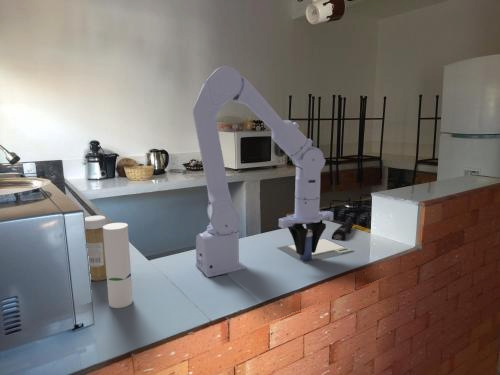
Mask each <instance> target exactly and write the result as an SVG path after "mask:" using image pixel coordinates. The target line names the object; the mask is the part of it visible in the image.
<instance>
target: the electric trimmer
mask: <svg viewBox="0 0 500 375" xmlns="http://www.w3.org/2000/svg"><path fill="white" fill-rule="evenodd" d="M353 226H354V223H353V220H352V219H351V218H348V219H346V221H344V223H343V224H341V225H340V226H339V227H337V229H335V230H334V231H333V233H332V235H331V241H332V240H333V241H339V242H340V241H341V242H344V241H345V240H346V236H347V234H350V233H352V230H353V228H354V227H353Z"/></svg>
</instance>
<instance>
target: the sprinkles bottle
mask: <svg viewBox="0 0 500 375" xmlns="http://www.w3.org/2000/svg"><path fill="white" fill-rule="evenodd" d="M84 218H85V227H86V240H87V248H88V256H89V266H90V274H91V280H90V281H93V282H98V281H104V280H107V274H106V262H105V249H104V237H103V226H104V225H107V218H106V216H104V215H90V216H87V217H84Z"/></svg>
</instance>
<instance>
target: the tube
mask: <svg viewBox="0 0 500 375" xmlns="http://www.w3.org/2000/svg"><path fill="white" fill-rule="evenodd" d="M128 226H129V224H128V223H126V222H112V223H106V225H104V226H103V237H104V249H105V262H106V274H107V278H106V284H107V285H106V286H107V297H108V305H109V307H111V308H112V309H121V308H122V309H123V308H125V307H128V306H130V305H131V304H132V303H133V301H134V299H133V297H134V296H133V284H132V283H133V282H132V281H133V280H132V271H131V269H132V268H131V254H130V253H131V252H130V239H129V227H128Z"/></svg>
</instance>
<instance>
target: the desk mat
mask: <svg viewBox="0 0 500 375" xmlns="http://www.w3.org/2000/svg"><path fill="white" fill-rule="evenodd" d="M320 239H321V238H320ZM320 239H319V240H320ZM322 239H326V240H328V241H331V242H333V243H335V244H338V245H340V246H342V247H344V248H345V247H346V246H344V245H341V244H339V243H337V242H335V241H332V240H330V239H328V238H322ZM290 245H291V244H289V245H284V246H279V247H276V249H278V250H279V251H281V252H284V253H285V254H287V255H288V256H290V257H292V258H294V259H295V260H297V261H298V262H300V263H302V264H307V263H312V262H315V261H317V262H318V261H321V260H326V259H329V258H334V257H338V256H343V255H346V254H351V253H352V254H353V253H355V252H356V251H355V250H353V249H351V250H352V251H351V252H347V253H342V254H339V253H337V252H335V251H331V252H326V253H322V254H317V255H313V256H312V260H310V261H302V260H300V254H298V253H297V252H296V251H295V250H293V249H291V248H289V247H288V246H290ZM292 245H295V243H293V244H292Z"/></svg>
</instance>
